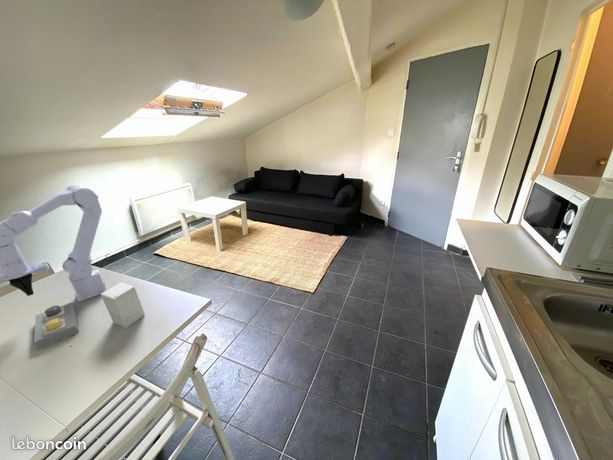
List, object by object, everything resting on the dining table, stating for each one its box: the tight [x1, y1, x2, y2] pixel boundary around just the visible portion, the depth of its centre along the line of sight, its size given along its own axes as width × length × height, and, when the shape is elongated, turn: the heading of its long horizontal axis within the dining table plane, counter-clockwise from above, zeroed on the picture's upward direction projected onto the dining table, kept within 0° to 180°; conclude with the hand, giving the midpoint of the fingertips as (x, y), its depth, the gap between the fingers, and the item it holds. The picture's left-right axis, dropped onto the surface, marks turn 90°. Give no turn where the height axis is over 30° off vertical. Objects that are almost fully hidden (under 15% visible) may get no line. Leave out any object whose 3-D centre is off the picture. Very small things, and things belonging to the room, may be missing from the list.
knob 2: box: [44, 318, 62, 331], centre depth 86 cm, size 4×4×5 cm
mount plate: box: [33, 301, 79, 350], centre depth 89 cm, size 10×16×4 cm, turn 42°
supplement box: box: [100, 281, 146, 329], centre depth 91 cm, size 7×7×13 cm
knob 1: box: [43, 305, 61, 317], centre depth 92 cm, size 4×4×5 cm
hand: (30, 293), depth 91 cm, fingers closed
